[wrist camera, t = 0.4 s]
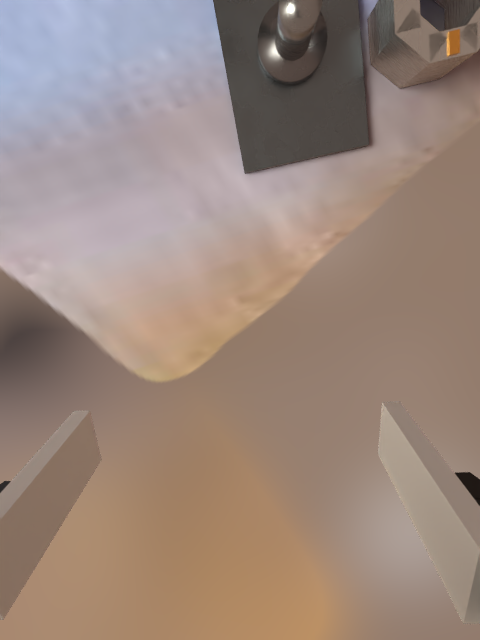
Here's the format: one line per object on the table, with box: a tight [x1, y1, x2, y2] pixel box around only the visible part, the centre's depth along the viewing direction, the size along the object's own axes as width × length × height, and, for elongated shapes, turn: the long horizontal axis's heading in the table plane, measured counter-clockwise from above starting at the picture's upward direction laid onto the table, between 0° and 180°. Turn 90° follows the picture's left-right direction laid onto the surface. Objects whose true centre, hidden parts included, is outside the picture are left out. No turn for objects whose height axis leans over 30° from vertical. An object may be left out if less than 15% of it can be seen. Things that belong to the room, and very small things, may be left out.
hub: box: [367, 0, 480, 89], centre depth 29 cm, size 9×9×6 cm
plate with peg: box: [213, 0, 369, 174], centre depth 29 cm, size 18×13×8 cm
